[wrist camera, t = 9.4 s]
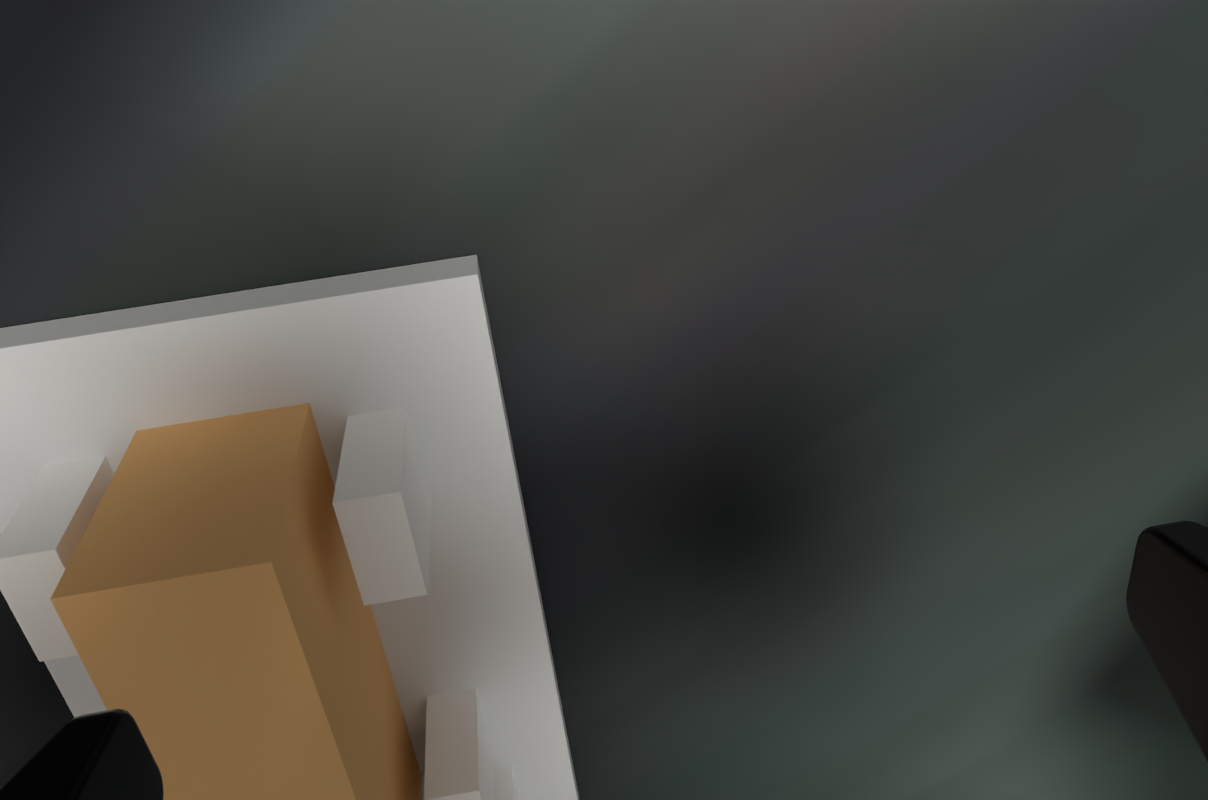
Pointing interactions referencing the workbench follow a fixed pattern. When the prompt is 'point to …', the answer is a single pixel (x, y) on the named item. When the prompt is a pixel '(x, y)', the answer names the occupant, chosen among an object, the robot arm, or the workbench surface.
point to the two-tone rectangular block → (237, 618)
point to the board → (361, 478)
